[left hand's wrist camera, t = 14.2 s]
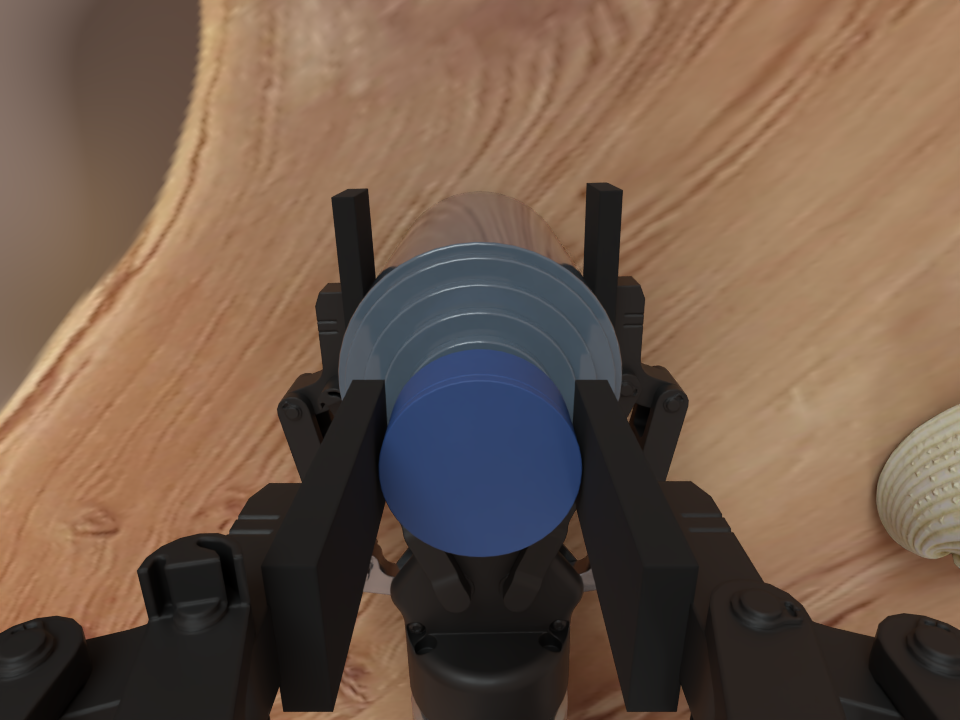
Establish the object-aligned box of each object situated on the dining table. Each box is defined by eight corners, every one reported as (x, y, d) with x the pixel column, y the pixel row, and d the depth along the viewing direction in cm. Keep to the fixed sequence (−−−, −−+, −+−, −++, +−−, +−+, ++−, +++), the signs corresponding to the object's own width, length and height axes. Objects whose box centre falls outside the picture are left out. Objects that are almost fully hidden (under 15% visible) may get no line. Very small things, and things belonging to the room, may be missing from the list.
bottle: (540, 168, 28) (623, 231, 12) (583, 333, 30) (695, 565, 14) (369, 221, 28) (231, 348, 13) (426, 377, 31) (371, 643, 15)
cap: (544, 325, 14) (553, 354, 12) (588, 484, 15) (602, 531, 14) (364, 377, 14) (347, 412, 13) (423, 526, 16) (416, 577, 14)
